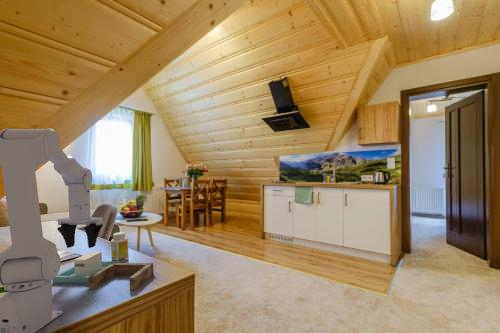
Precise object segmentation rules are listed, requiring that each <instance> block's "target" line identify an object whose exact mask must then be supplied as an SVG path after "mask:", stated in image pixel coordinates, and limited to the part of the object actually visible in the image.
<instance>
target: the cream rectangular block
mask: <svg viewBox="0 0 500 333" xmlns="http://www.w3.org/2000/svg"><path fill="white" fill-rule="evenodd" d="M102 253H103V252H102V251H90V252H87V253H86V254H83V255H81V256H79V257H77V258H75V259H73V264H74V265H73V267H74V268H75V276H89V275H91V274H93V273H95V272H96V271H98V270H100V269H101V268H102V261H103V257H102V256H103V255H102Z"/></svg>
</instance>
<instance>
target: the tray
mask: <svg viewBox="0 0 500 333" xmlns="http://www.w3.org/2000/svg"><path fill="white" fill-rule="evenodd" d="M112 263H119V261H112V260H102V268H101V269H103V268H105V267H107V266H108V265H110V264H112ZM101 269H100V270H101ZM100 270H98V271H100ZM98 271H96V272H98ZM96 272H95V273H96ZM95 273H93V274H95ZM93 274H91V275H93ZM91 275H89V276H75V268H74V266H72V267H70V268H68V269H66V270H63V271H62V272H60V273H58V274H57V275H56V277H55V278H54V279H53V280H52V284H54V285H55V284H57V285H59V284H61V285H62V284H63V285H89V279H88V277H90V276H91Z"/></svg>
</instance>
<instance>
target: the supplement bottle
mask: <svg viewBox="0 0 500 333" xmlns="http://www.w3.org/2000/svg"><path fill="white" fill-rule="evenodd" d="M128 239H129V238H128V237H127V236H126V232H124V231H118V232H115V233H113V235H112V239H111V240H110V247H111V248H110V249H111V252H110V253H111V261H119V263H125V262H126V261H127V260H129V240H128Z"/></svg>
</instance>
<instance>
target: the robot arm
mask: <svg viewBox="0 0 500 333" xmlns="http://www.w3.org/2000/svg"><path fill="white" fill-rule="evenodd" d="M48 162H50V163H52V164H53V169H54V170H55V172H56V173H58V174H59V175H60V176H61V178H62V180H63V183H64V185H65V186H66V187H67V194H68V195H67V196H68V216H69V217H63V218H58V219H57V226H58V227H56V228H57V230H56V231H58V233H59V234H60V235H61V236H62V237H63V240H64V243H65V246H66V248H67V249H69V248H72V247H75V243H76V236H75V235H76V231H77V226H78V225H82V226H83V225H87V226H83V229H84V230H85V234H86V238H87V245H88V246H87V247H88V248H89V249H91V248H94V247H96V243H97V241H98V236H99V234H100V231H101V229H102V228H103V226H104V219H103V217H95V216H92V215H91V193H90V192H91V191H90V190H92V183H93V173H92V171H91V169H89V168H88V167H84V166H82V165H81V163H79V161H78V160H77V159H76V158H75V157H73V155H66V153H65V151H64V150H63V149H62V147H61V139H60V135H59V134H58V133H57V131H56V130H55V129H53V128H50V127H49V128H9V127H8V128H3V129H2V130H0V166H1V171H2V172H1V173H2V179H3V180H2V181H3V188H4V195H5V202H6V209H7V210H6V211H7V216H8V217H7V218H8V225H9V233H10V239H11V244H10V245H9V246H8V247H6V248H5V249H3V250H2V251H1V252H0V286H2V287H3V288H4V291H6V293H5V294H3V295H2V296H1V297H0V333H36V332H38V331H39V330H41V329H42V328H43V327H45V326H46V325H48V324H49V323H51V322H53V321H54V320H55V319H57V318H58V317H60V316H61V315H62V314H63V311H62V310H54V309H53V288H52V286H53V285H52V284H53V279H54V278H55V277H56V275H58V274H59V272H60V268H61V263H62V261H61V260H62V259H61V256H60V254H59V252H58V249H57V245H56V243H55V242H53V241H51V240H49V239H47V238H45V237H44V233H43V226H42V218H41V209H40V202H39V201H40V199H39V192H38V191H39V190H38V184H37V175H36V171H37V169H38V167H39V166H42V165H44V164H47V163H48Z"/></svg>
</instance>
